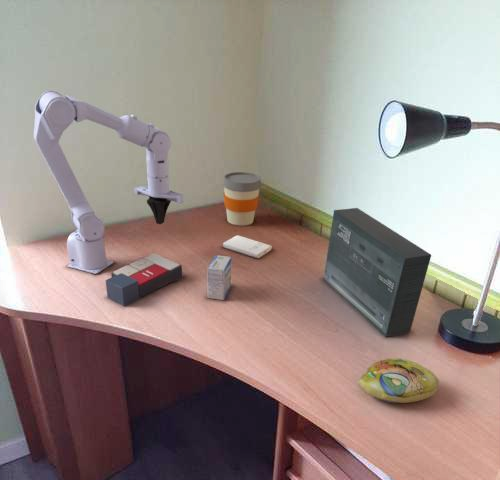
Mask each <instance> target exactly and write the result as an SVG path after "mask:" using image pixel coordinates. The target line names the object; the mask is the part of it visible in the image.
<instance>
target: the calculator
mask: <svg viewBox="0 0 500 480" xmlns="http://www.w3.org/2000/svg"><path fill="white" fill-rule="evenodd" d="M121 273H122V274H124V275H127V276H129V277H131V278H133V279H135V280H137V281H138V287H139V299H140V298H143V297H145V296H146V295H148V294H151V293H152V292H154V291H156V290H158V289H160V288H162V287H164V286H165V285H167V284H169V283H175V282H177V281H179V280H180V279H182V278H183V265H181V264H180V263H177V262H175V261H172V260H170V259H168V258H166V257H164V256H161V255H159V254H157V253H155V252H154V253H151V254H149V255H147V256H145V257H142V258H139V259H137V260H135V261H132V262H130V263H129V264H126V265H124V266H122V267H120V268H118V269H116V270H114V271H113V272H112V273H111V274H110V275H111V278H112V277H114V276H116V275H118V274H121Z"/></svg>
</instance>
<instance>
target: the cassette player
mask: <svg viewBox="0 0 500 480" xmlns="http://www.w3.org/2000/svg"><path fill="white" fill-rule="evenodd" d="M328 242H329V243H328V248H327V253H326V261H325V266H324V273H323V281H325V283H327V284H328V285H329V286H330V287H331V288H332V289H333V290H334V291H335V292H336V293H338V294H339V295H340V296H341V297H342V299H344V300H345V301H346V302H347V303H348V304H349V305H350V306H352V307H353V309H354V310H356V311H357V312H358V313H359V314H360V315H361V316H362V317H363V318H364V319H365V320H367V322H369V323H370V324H371V325H372V326H373V327H374V328H375V329H377V331H378V332H379V333H381V334H382V335H383V336H384V337H385V338H388V337H392V336H399V335H403V334H406V333H407V334H408V333H411V330H412V326H413V323H414V319H415V316H416V312H417V309H418V306H419V301H420V297H421V295H422V290H423V287H424V283H425V279H426V276H427V273H428V269H429V265H430V261H431V259H432V254H431V253H430V252H428V251H426V250H425V249H423V248H421V247H420V246H418V245H417V244H415V243H414V242H412V241H411V240H409V239H407V238H406V237H404V236H403V235H401V234H399V233H398V232H397V231H395V230H393V229H391V228H390V227H388V226H387V225H385V224H383V223H382V222H381V221H380V220H379V221H378V220H377V219H376V218H374V217H373V216H371V215H369V214H368V213H366V212H365V211H363V210H362V209H360V208H358V207H353V208H342V209H341V208H340V209H333V214H332V221H331V227H330V234H329V241H328Z"/></svg>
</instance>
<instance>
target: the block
mask: <svg viewBox="0 0 500 480" xmlns="http://www.w3.org/2000/svg"><path fill="white" fill-rule="evenodd" d="M105 289H106V295H107V299H109V300H111V301H112V302H115V303H117V304H119V305H121V306H122V307H126V306H127V305H130V304H131V303H133V302H135V301H137V300H139V299H140V298H139V287H138V281H137V280H135V279H133V278H131V277H129V276H127V275H124V274H122V273H121V274H118V275H116V276H114V277H112V276H111V277H110V278H107V279H106V280H105Z"/></svg>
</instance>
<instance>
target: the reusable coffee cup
mask: <svg viewBox="0 0 500 480" xmlns="http://www.w3.org/2000/svg"><path fill="white" fill-rule="evenodd" d="M261 181H262V179H261V177H260V176H259V175H258V174H255V173H253V172H252V173H251V172H245V171H232V172H229V173H226V174H224V175H223V182H222V186H223V189H224V190H223V191H224V192H223V201H224V202H223V203H224V208H225V209H226V210H225V211H226V219H227V222H228V224H231V225H233V226H240V227H241V226H249V225H252V224H253V223H254V220H255V214H256V210H257V209H258V204H259V201H260V189H261V186H262V182H261Z"/></svg>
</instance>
